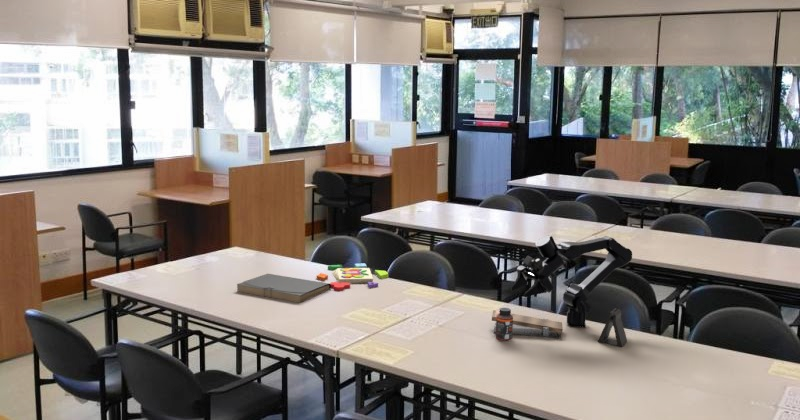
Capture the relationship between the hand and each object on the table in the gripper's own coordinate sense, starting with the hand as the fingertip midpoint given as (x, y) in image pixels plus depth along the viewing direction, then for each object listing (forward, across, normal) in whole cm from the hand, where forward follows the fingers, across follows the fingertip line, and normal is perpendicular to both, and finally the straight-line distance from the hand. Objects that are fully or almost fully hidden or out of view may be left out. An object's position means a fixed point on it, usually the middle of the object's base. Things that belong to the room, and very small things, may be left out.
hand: (517, 292), depth 271 cm
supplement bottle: (+16, +5, +8) cm, 18 cm away
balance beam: (+3, 0, +13) cm, 13 cm away
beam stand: (+5, 0, +15) cm, 16 cm away
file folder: (+66, -80, -27) cm, 107 cm away
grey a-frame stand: (-14, +21, +29) cm, 38 cm away
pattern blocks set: (+38, -91, -7) cm, 98 cm away
